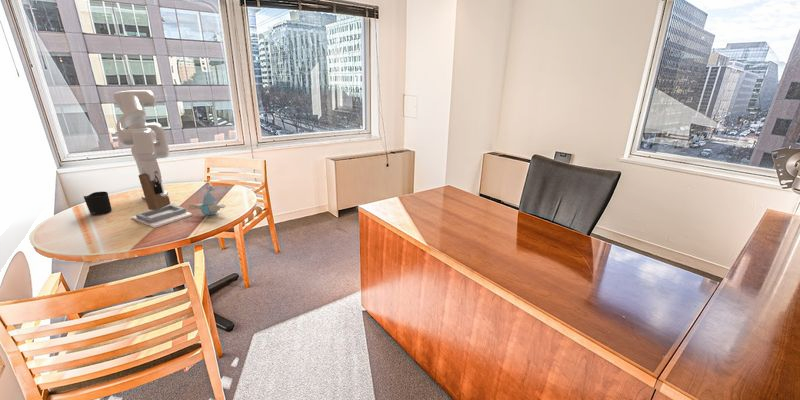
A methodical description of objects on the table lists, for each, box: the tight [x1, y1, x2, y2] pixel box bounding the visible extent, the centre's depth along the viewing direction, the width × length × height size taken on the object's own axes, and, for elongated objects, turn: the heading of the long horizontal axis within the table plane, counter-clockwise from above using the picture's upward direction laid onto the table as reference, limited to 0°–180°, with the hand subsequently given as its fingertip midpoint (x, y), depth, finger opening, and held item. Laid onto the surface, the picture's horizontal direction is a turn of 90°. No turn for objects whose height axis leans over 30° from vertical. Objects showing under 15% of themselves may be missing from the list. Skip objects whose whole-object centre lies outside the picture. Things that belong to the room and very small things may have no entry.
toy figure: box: [188, 184, 226, 216], centre depth 172 cm, size 17×10×15 cm, turn 84°
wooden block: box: [138, 174, 171, 211], centre depth 165 cm, size 9×4×18 cm, turn 169°
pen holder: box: [83, 191, 113, 216], centre depth 174 cm, size 9×9×10 cm
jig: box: [130, 203, 193, 229], centre depth 170 cm, size 22×18×3 cm
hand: (156, 192), depth 166 cm, fingers closed on wooden block, 5 cm apart
